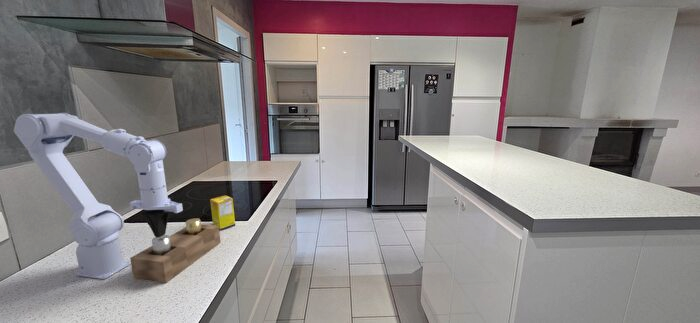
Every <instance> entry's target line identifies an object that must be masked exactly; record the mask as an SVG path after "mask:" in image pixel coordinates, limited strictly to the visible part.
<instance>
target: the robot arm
mask: <svg viewBox="0 0 700 323" xmlns="http://www.w3.org/2000/svg"><path fill="white" fill-rule="evenodd" d="M13 133H14V134H15V135H16V136H17V138H18V139H19V141H20V142H21V143H22V145H23V146H24V148H25V149H26V151H28V154H29V156H30V157H31V159H32V160H33V161H34V163H35V164H36V165H37V167H38V168H39V169H40V171H41V172H42V174H43V175H44V176H45V177H46V179H47V181H49V183H50V184H51V186H52V187H53V188H54V189H55V191H56V193H57V194H58V195H59V196H60V198H61V199H62V200H63V202H64V203H65V205H66V206H67V207H68V209H69V210H70V212H71V213H72V216H71V218H70V219H69V222H68V223H67V226H68V228H69V230H70V231H71V235H72V238H73V240H74V242H75V243H77V244H78V245H77V246H76V250H75V255H76V259H77V264H78V269H79V271H78V272H77V273H76V276H79V277H84V278H86V277H87V278H91V279H93V278H94V279H98V280H100V279H101V280H105V279H107V278H109V277H110V276H112V275H114V274H116V273H118V272H120V271H121V270H123V269H125V268H126V267H129V266H131V260H124V258H123V253H122V246H121V242H120V237H119V235H121V230H122V229H123V228H124V225H125V221H124V218H123V216H122V215H121V214H120V213H118V212H117V211H115V210H114V209H113V208H112V207H111V205H109V204H105V203H101V202H98V200H97V199H96V197H95V196H94V194H93V193H92V191H90V189H89V187H87V184H85V182H84V181H83V179H82V178H81V177H80V175H79V173H78V172H77V171H76V170H75V168H74V167H73V165H72V164H71V163H70V161H69V160H68V159H67V157H66V156H65V154H64V153H63V151H64V149H65V148H66V147H67V146H68V145H69V143H70V142H71V140H72V139H73V138H74V137H78V138H82V139H85V140H88V141H92V142H95V143H99V144H101V147H102V148H103V149H104V150H105V151H108V152H111V153H114V154H115V155H118V156H121V157H124V158H128V160H129V161H130V162H131V163H132V165H133V166H134V171H135V172H136V176H137V180H138V181H137V182H138V186H139V193H140V199H141V200H136V199H135V200H133V201H131V202H129V208H130V210H144V212H142V213H141V214H140V217H141V218H142V219H143V220H144V221H145V223H147V225H148V226H149V228H150V229H151V231H152V234H153V235H154V238H155V237H161V236H163V235H166V231H167V226H168V223H169V218H170V216H171V215H172V212H173V213H174V214H178V213H181V212H183V210H184V209H183V203H181V202H180V203H179V202H176V201H172V200H171V198H170V197H169V196H168V190H167V189H168V188H167V183H166V174H165V169H164V161H163V160H164V159H165V158H166V156H167V148H166V146H165V144H164V143H163V142H162V141H160V140H158V139H153V138H152V139H149V140H146V139H145V137H143V136H141V135H138V136H136V135H133V134H130V133H128V132H127V131H126V129H123V128H116V129H111V130H106V129H104V128H101V127H99V126H96V125H94V124H91V123H90V122H87V121H85V120H83V119H80V118H79V117H78V116H77V115H72V114H69V113H67V112H59V113H32V114H31V113H24V114H21V115H19V116H18V117H17V118H16V120H15V123H14V128H13Z"/></svg>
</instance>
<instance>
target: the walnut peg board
mask: <svg viewBox="0 0 700 323" xmlns="http://www.w3.org/2000/svg"><path fill="white" fill-rule="evenodd" d="M201 230H202V232H200V233H199V234H197V235H187V228H186V226H185V227H183V228H182V229H180V230H178V231H176V232H174V233H173V234H170V235H168V236H169V237H170V244H171V251H170V252H168V253H167V254H165V255H163V256H159V255H154V251H153V245H151V246H149V247H148V248H146V249H144V250H142V251H140V252H139V253H137V254H135V255H132V256H131V257H130V258H129V259H130V260H129V261H130V262H131V264H130V266H131V271H132V276H133V279H134V280H139V281H140V280H141V281H148V282H155V283H162V284H167V283H168V282H170V281H171V280H173V279H174V278H175V277H177V276H178V275H179V274H181V273H182V272H183V271H185V270H186V269H187V268H188V267H190V266H191V265H193V264H194V263H196V262H197V261H198V260H200V259H201V258H202V257H204V256H205V255H206V254H207V253H210V251H212V250H213V249H215V247H217V246H218V245H220V244H221V234H220V230H219V226H214V225H213V224H212V225H211V224H201Z"/></svg>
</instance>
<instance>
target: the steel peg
mask: <svg viewBox="0 0 700 323" xmlns="http://www.w3.org/2000/svg"><path fill="white" fill-rule="evenodd" d="M169 236H170V235H168V234H165V235H163V236H161V237H155V236H154V237H153V238H152V239H151V243H152V245H151V246H153V251H154V255H159V256H163V255H165V254H167V253H168V252H170V251H171V244H170V237H169Z"/></svg>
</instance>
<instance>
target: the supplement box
mask: <svg viewBox="0 0 700 323" xmlns="http://www.w3.org/2000/svg"><path fill="white" fill-rule="evenodd" d="M209 202H210V210H211V219H212V225H214V226H219V232H220V231H223V230H226V229H229V228H231V227H235V226H236V220H235V219H236V218H235V209H234V199H233V198H232V197H230V196H228V195H221V196H217V197H215V198H214V197H213V198H211V199H210V200H209Z"/></svg>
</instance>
